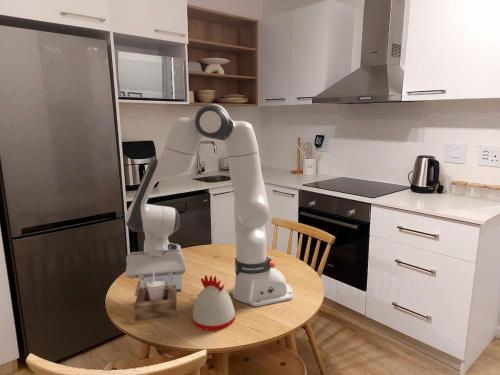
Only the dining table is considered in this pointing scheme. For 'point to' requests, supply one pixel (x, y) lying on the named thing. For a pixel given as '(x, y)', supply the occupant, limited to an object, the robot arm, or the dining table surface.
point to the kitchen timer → (213, 307)
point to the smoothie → (155, 288)
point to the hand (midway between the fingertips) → (155, 288)
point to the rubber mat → (175, 280)
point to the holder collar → (156, 304)
